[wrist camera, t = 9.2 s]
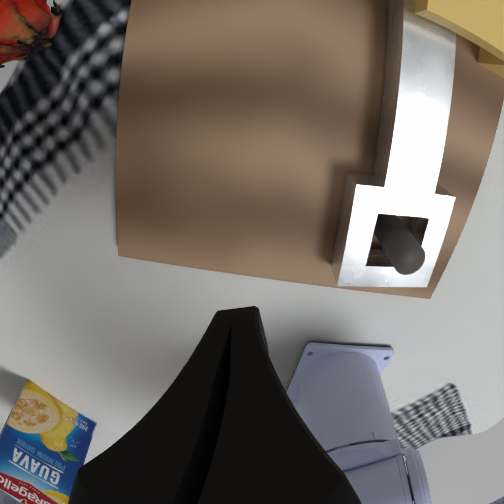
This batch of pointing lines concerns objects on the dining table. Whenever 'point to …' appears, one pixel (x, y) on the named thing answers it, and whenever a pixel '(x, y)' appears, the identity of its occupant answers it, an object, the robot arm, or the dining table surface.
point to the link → (402, 155)
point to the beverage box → (42, 448)
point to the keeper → (472, 25)
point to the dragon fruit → (26, 28)
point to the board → (274, 136)
